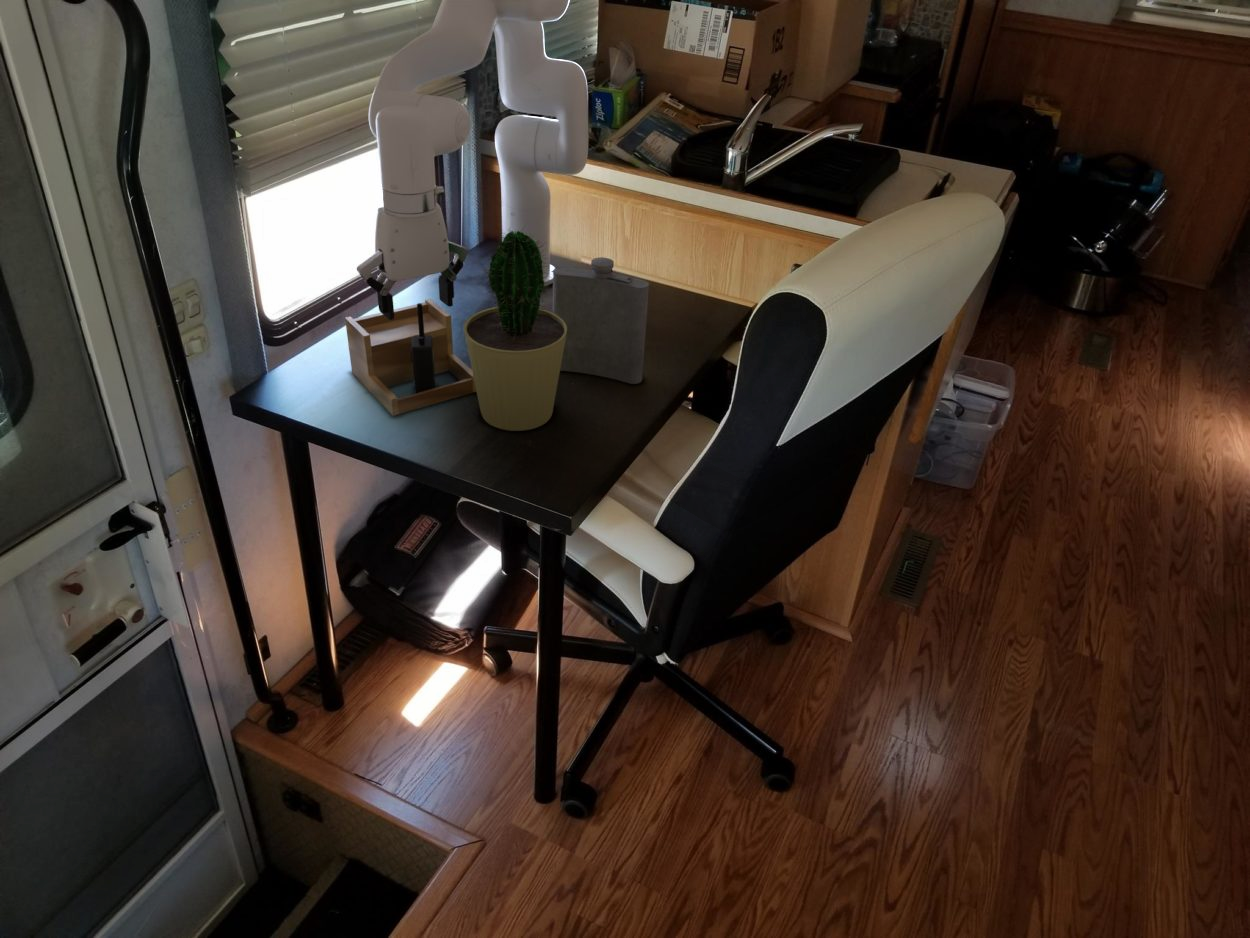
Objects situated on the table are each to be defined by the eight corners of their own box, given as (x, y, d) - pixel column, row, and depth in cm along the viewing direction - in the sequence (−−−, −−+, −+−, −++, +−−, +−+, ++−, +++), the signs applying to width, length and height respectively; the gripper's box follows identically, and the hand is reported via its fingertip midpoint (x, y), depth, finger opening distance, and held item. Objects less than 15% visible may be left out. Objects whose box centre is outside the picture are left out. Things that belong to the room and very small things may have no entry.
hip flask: (549, 368, 159) (550, 258, 148) (557, 358, 163) (558, 249, 151) (639, 385, 156) (647, 273, 145) (645, 374, 160) (653, 264, 148)
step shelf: (351, 372, 155) (344, 317, 149) (434, 351, 162) (430, 298, 157) (392, 416, 144) (387, 359, 139) (478, 391, 152) (476, 336, 146)
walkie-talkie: (435, 399, 149) (429, 313, 141) (414, 399, 149) (406, 313, 140) (435, 384, 153) (430, 299, 145) (414, 384, 153) (407, 300, 144)
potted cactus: (470, 386, 153) (462, 208, 136) (564, 387, 154) (568, 211, 137) (463, 438, 140) (454, 248, 123) (566, 438, 142) (570, 251, 125)
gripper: (452, 183, 140) (456, 290, 149) (340, 200, 131) (353, 312, 140) (476, 198, 135) (479, 307, 144) (362, 216, 126) (374, 331, 135)
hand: (417, 309), depth 142 cm, fingers open, 9 cm apart
